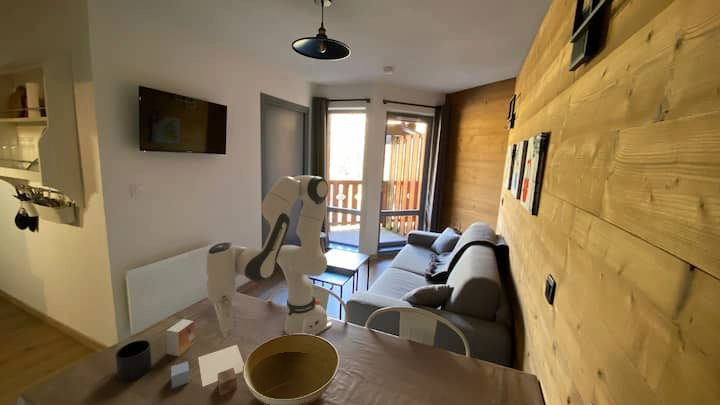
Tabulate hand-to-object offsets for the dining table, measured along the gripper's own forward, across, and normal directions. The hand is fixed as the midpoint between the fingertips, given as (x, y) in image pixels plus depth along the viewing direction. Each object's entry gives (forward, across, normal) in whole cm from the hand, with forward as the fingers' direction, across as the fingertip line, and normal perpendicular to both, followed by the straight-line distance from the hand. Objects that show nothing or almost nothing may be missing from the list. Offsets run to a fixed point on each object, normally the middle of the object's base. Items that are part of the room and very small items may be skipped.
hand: (222, 327), depth 94 cm
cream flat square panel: (+19, +6, 0) cm, 20 cm away
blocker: (+19, -6, 0) cm, 20 cm away
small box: (+19, +23, +12) cm, 32 cm away
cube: (+19, +5, +13) cm, 24 cm away
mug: (+19, +19, +27) cm, 38 cm away
